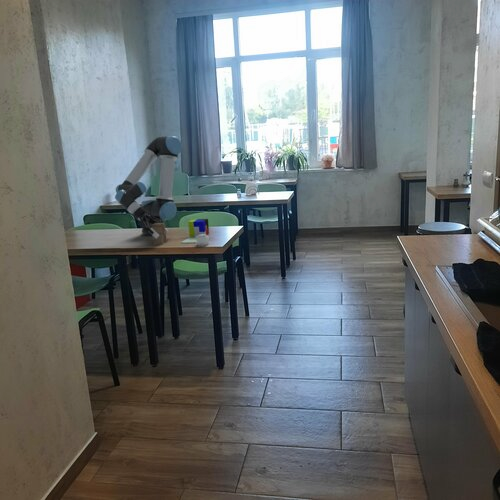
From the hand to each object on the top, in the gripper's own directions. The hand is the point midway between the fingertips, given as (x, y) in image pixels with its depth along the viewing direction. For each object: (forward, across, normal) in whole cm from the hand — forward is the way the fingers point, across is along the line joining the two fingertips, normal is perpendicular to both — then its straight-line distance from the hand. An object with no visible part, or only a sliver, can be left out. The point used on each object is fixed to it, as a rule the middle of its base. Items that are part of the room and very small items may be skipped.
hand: (162, 234), depth 281 cm
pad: (+17, -6, +10) cm, 20 cm away
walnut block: (+2, 0, -5) cm, 6 cm away
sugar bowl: (+23, +5, +15) cm, 28 cm away
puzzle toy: (+15, -22, +7) cm, 28 cm away
